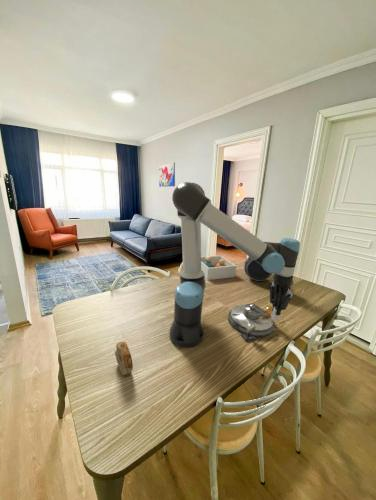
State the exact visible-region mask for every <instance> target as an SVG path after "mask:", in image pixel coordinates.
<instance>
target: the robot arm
mask: <svg viewBox="0 0 376 500" xmlns="http://www.w3.org/2000/svg"><path fill="white" fill-rule="evenodd" d="M205 193H206V192H205V190H204V189H203V187H202V186H200V184H198V183H196V182H190V181H189V182H188V181H187V182H182V183H179V184H178V185H177V186H176V187H175V188H174V190H173V193H172V203H173V206H174V208H175V209H176V210H177V212H176V213H177V217H178V218H179V219H180V220H181V221H180V222H181V225H180V226H181V246H182V247H181V249H182V251H181V253H182V270H181V272H180V273H179V278H180V279H179V282H180V283H179V284H178V285H177V286H176V287H175V290H174V308H173V309H174V312H173V313H174V314H173V321H172V323H171V325H170V328H169V334H168V335H169V339H170V341H171V342H172V343H173V344H174V345H176V346H178V347H179V348H180V347H181V348H194V347H197V346H199V345H200V344H202V343H203V340H204V337H205V336H204V335H205V331H204V328H203V324H202V312H203V311H202V310H203V301H204V297H205V291H206V285H207V283H206V278H205V273H204V271H203V270H201V257H202V230H201V229H202V224H203V225H204V226H205V227H206V228H208V229H210V230H211V231H212V232H214V233H215V234H217V235H218V236H219V237H221V238H222V239H224V240H225V241H227V243H229V244H231V245H232V246H233V247H234V248H236V249H238V250H239V251H241V252H242V253H244V254H245V255H246V256H247V257H250V258H252V259H253V260H255V261H256V262H257V263H259V264H260V265H261V266H262V267H263V269H264V270H265V271H266V272H268V273H271V274H272V275H273V274H275V275H274V282H270V281H269V282H268V283H269V302H270V304H272V305H271V306H272V312H271V316H272V318H271V319H272V320H273V321H274V322H275V321H276V322H277V321H278V320H279V318H280V315H281V313H282V311H285V310H287V307H288V305H289V303H290V302H291V300H292V298H294V296H295V293H292V292H291V286H290V285H291V284H292V280H293V281H294V275H295V271H296V266H297V261H298V257H299V253H300V247H301V242H300V240H297V239H295V238H288V237H285V238H281V239H280V242H269V241H263V240H262V239H260V238H259V237H257V236H256V235H255V234H253V232H251V231H249V230H248V229H246V228H245V227H243V226H242V225H241V224H239V223H238V222H237V221H235V220H234V219H233V218H231V217H230V216H228V215H227V214H226V213H225V212H224V211H223V212H222V210H220V209H219V208H217V207H216V206H215V205H213V203H212V200H211V199H210V198H208V197H207V196H206V194H205ZM286 293H287V294H286Z"/></svg>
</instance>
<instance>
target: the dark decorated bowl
mask: <svg viewBox="0 0 376 500" xmlns="http://www.w3.org/2000/svg"><path fill="white" fill-rule="evenodd" d="M244 272H245V275H247V277H248V278H249V279H250V280H253V281H255V282H262V281H263V282H264V281H266V280H267V279H268V280H269V276H270V275H273V274H271V273H268V272H266V271H265V270H264V269H263V267H262V266H261V265H260V264H259V263H257V262H256V261H255V260H253V259H252V258H250V257H249V256H247V258H246V259H245V261H244Z"/></svg>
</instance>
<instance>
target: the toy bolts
mask: <svg viewBox="0 0 376 500" xmlns="http://www.w3.org/2000/svg"><path fill="white" fill-rule="evenodd" d="M205 257H206V256H205ZM204 264H205V265H206V266H207V267H209V268H211V266H212V263H211V258H210V257H206V258H205V262H204ZM223 266H226V264H225V261H224V260H223V259H221V260H219V263H217V265H216V266H214V267H223Z"/></svg>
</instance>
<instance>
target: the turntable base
mask: <svg viewBox="0 0 376 500" xmlns="http://www.w3.org/2000/svg"><path fill="white" fill-rule="evenodd" d="M227 318H228V323H229V325H230V326H231V327H232V328H233V329H234V330H235V331H237V332H238V333H240V334H242V333H246V334H247V330H246V329H244V328H242V327H240V326H238V325H237V324H236V323H235V322H234V321H233V320H232V318H231V310H229V312H228V317H227ZM275 325H276V324H275V321H273V325H272V327H271V328H270V329H269V330H267V331H263V332H255V331H253V332H252V333H250V335H254V336H255V337H256V339H257V338H261V339H262V338H266V337H269V336H271V335H272V334H273V333H274V332H275Z"/></svg>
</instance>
